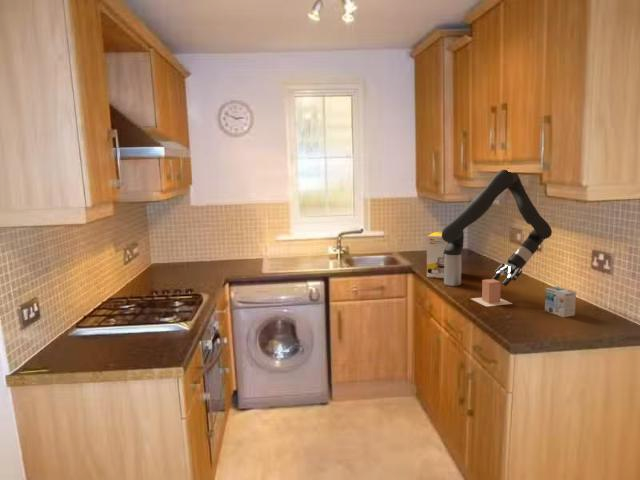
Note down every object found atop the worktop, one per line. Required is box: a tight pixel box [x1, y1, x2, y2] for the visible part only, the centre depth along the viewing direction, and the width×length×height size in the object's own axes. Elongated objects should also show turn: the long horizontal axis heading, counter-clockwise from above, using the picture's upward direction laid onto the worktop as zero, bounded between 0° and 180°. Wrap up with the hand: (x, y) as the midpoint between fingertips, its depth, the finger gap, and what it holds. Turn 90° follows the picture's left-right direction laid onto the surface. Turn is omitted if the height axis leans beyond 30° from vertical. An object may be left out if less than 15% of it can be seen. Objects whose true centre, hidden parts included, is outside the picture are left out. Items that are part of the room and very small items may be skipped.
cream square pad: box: [470, 296, 513, 307], centre depth 226 cm, size 14×14×1 cm
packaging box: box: [426, 231, 448, 279], centre depth 282 cm, size 16×16×25 cm
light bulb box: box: [544, 285, 577, 318], centre depth 206 cm, size 11×7×11 cm, turn 21°
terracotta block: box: [481, 278, 502, 303], centre depth 225 cm, size 6×6×10 cm
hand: (498, 282), depth 225 cm, fingers open, 8 cm apart
